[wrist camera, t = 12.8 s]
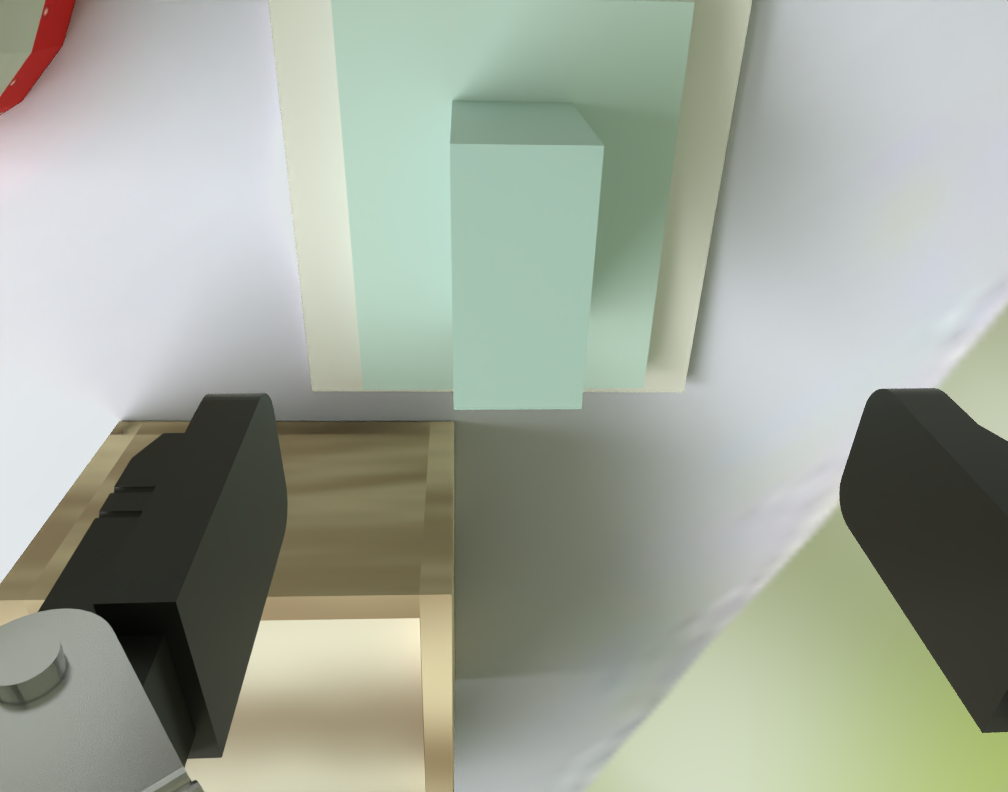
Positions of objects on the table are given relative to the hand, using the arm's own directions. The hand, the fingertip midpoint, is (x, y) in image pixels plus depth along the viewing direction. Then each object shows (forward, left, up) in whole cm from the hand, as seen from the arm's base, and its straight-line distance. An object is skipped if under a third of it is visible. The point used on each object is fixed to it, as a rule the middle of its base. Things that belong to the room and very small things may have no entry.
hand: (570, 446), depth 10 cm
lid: (0, 0, -13) cm, 13 cm away
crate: (+14, -7, -13) cm, 21 cm away
